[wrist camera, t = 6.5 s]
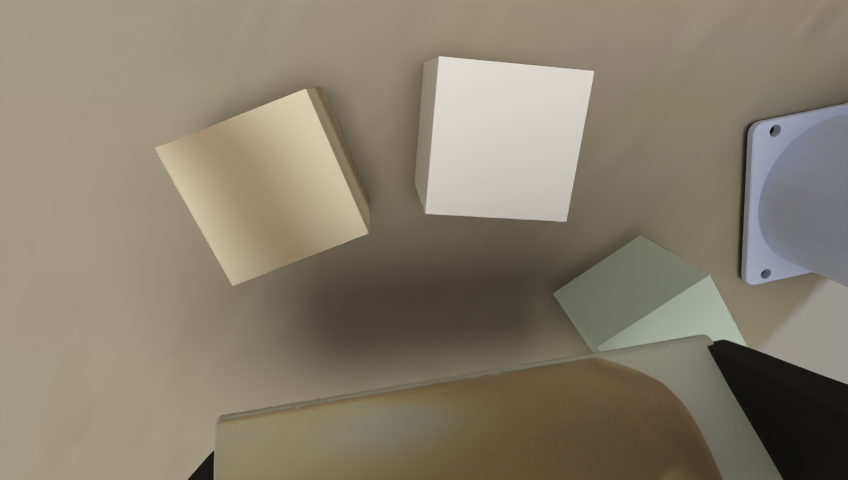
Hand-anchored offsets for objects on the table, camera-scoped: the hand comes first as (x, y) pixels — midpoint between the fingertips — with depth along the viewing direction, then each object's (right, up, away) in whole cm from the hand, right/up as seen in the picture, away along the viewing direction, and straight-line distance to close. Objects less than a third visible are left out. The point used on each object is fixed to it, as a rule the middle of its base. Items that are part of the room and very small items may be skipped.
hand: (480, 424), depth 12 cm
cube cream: (+1, +9, +8) cm, 12 cm away
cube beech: (-7, +8, +8) cm, 13 cm away
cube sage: (+8, +2, +11) cm, 14 cm away
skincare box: (+6, -1, +1) cm, 7 cm away
